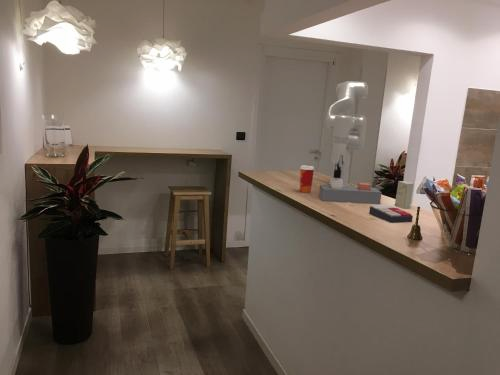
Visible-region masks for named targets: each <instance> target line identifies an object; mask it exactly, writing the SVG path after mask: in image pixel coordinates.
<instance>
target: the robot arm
mask: <svg viewBox="0 0 500 375" xmlns="http://www.w3.org/2000/svg"><path fill="white" fill-rule="evenodd" d="M335 89H336V97H337V101H335V102H334V103H332V104H331V105H330V106H329V108H328V109H327V112H326V117H325V127H326V128H327V129H329V130H333V132H332V133H333V135H332V144H333V146H332V147H333V148H332V152H331V159H330V160H331V163H332V173H331V174H332V175H331V178H335V179H342V180H343V185H342V186H351V184H350V183H349V176H350V175H349V174H350V167H351V166H350V165H351V164H350V163H351V154H350V153H349V152H348V150H351V151H361V150H363V149H364V147H365V142H366V133H367V117H366V116H365V115H363V114H355V108H356V107H355V99H359V100H365V99H366V98H367V96H368V95H369V85H368V83H367V82H365V81H359V80H358V81H357V80H355V81H354V80H352V81H351V80H347V81H344V82H341V83H338V84H337V85H336V88H335ZM350 131H351V132H355V133H351V132H350ZM356 132H357V133H356ZM330 182H331V181H329V182H328V185H329V184H330Z"/></svg>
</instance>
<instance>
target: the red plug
mask: <svg viewBox="0 0 500 375" xmlns="http://www.w3.org/2000/svg"><path fill="white" fill-rule="evenodd" d="M357 187H358V189H359V190H368V191H370V188H372V185H371V183H369V182H358V183H357Z"/></svg>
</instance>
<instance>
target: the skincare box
mask: <svg viewBox="0 0 500 375" xmlns="http://www.w3.org/2000/svg"><path fill="white" fill-rule="evenodd" d="M414 185H415V184H414V183H413V182H409V181H405V180H398V182H397V187H396V188H397V189H396V195H395V202H394V207H397V208H398V207H399V208H401V209H410V208H411V203H412V198H413V191H414Z"/></svg>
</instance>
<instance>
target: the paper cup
mask: <svg viewBox="0 0 500 375" xmlns="http://www.w3.org/2000/svg"><path fill="white" fill-rule="evenodd" d="M299 169H300V172H299V173H300V174H299V177H300V179H299V182H300V183H299V191H300V193H302V192H303V193H304V194H310V193H311V192H312V184H313V178H314V172H315V167H314V165H313V166H312V165H305V164H304V165H300V167H299ZM303 193H302V194H303Z"/></svg>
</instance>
